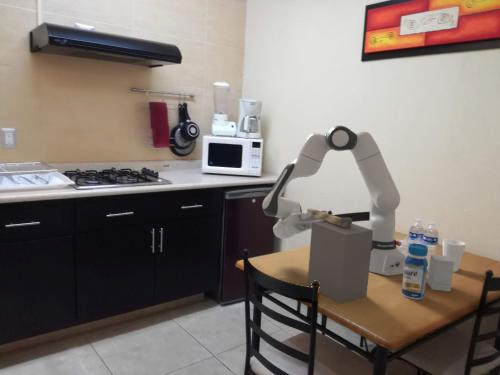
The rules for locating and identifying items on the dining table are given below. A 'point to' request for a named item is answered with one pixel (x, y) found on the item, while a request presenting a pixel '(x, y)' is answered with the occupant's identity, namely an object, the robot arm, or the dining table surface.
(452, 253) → the foam cup
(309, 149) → the robot arm
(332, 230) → the stand
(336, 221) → the bar
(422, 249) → the beverage bottle
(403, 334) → the dining table surface
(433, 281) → the supplement box
